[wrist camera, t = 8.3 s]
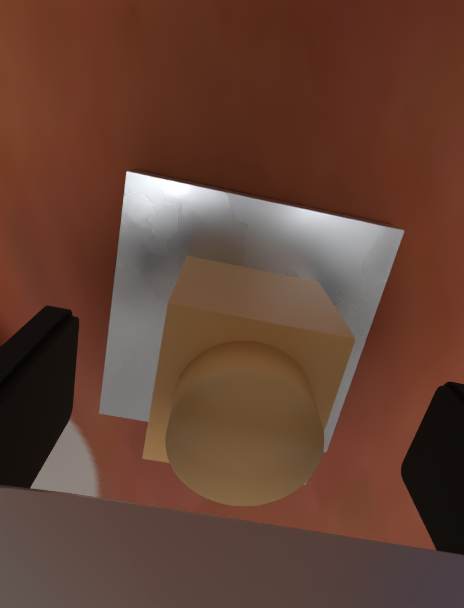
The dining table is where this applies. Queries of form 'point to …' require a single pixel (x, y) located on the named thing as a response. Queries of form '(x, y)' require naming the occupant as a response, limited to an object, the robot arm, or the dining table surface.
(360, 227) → the plate
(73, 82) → the dining table surface
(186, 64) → the dining table surface
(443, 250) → the dining table surface
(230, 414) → the cube with dome knob
